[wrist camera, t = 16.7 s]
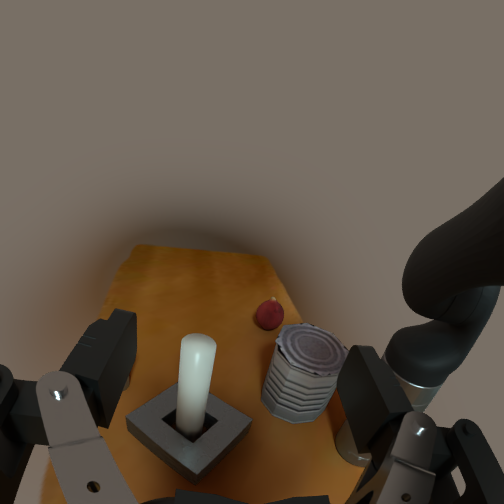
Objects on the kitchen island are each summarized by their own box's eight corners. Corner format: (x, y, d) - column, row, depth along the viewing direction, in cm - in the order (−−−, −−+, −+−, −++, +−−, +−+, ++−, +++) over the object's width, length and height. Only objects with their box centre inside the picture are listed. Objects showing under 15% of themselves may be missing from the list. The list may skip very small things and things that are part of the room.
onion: (280, 325, 68) (288, 294, 65) (278, 339, 62) (288, 307, 60) (254, 319, 68) (262, 288, 65) (251, 333, 63) (259, 300, 60)
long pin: (187, 420, 38) (197, 329, 32) (206, 434, 37) (223, 345, 31) (170, 433, 35) (174, 342, 29) (190, 449, 34) (200, 360, 28)
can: (299, 370, 54) (319, 318, 50) (338, 410, 45) (366, 357, 41) (247, 385, 48) (262, 329, 44) (284, 433, 39) (309, 379, 35)
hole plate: (184, 391, 44) (185, 376, 42) (248, 433, 38) (252, 419, 37) (127, 430, 34) (125, 416, 32) (195, 485, 28) (197, 474, 27)
